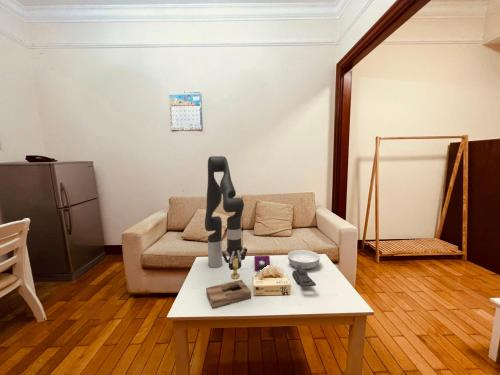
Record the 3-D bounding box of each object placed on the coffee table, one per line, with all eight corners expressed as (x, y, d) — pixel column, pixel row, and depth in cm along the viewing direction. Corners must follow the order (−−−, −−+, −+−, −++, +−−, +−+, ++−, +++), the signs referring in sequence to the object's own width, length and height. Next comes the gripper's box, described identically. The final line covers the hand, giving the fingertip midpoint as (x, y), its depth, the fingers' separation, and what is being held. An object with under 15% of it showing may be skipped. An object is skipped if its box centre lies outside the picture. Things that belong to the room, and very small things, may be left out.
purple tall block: (254, 269, 164) (254, 270, 147) (254, 257, 167) (254, 256, 150) (268, 269, 164) (270, 269, 147) (267, 257, 167) (269, 255, 150)
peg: (229, 276, 124) (229, 256, 123) (237, 274, 125) (237, 255, 124) (232, 280, 120) (232, 259, 119) (240, 278, 121) (240, 258, 120)
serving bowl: (306, 256, 171) (306, 247, 170) (326, 268, 152) (326, 258, 151) (281, 262, 162) (281, 252, 161) (300, 275, 143) (300, 264, 142)
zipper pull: (300, 284, 120) (291, 263, 145) (300, 296, 121) (291, 273, 146) (317, 284, 120) (305, 263, 145) (317, 296, 121) (305, 273, 146)
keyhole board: (206, 294, 124) (206, 287, 124) (241, 286, 132) (241, 279, 132) (212, 308, 112) (212, 301, 112) (251, 298, 120) (250, 291, 120)
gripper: (244, 232, 126) (244, 263, 128) (218, 236, 121) (219, 268, 123) (249, 236, 120) (250, 269, 122) (223, 241, 114) (224, 274, 116)
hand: (235, 268), depth 122 cm, fingers closed on peg, 3 cm apart
